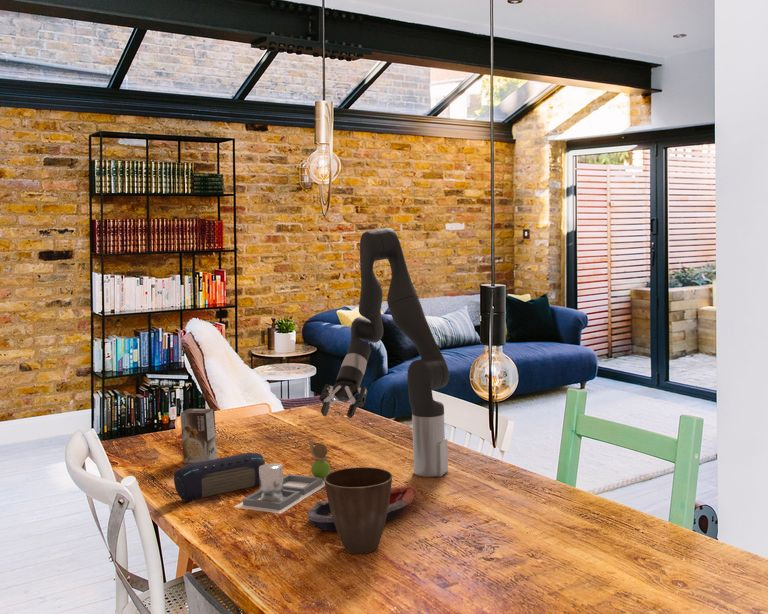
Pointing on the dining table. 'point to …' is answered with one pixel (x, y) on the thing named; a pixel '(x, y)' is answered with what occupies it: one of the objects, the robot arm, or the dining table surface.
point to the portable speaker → (218, 476)
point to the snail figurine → (319, 460)
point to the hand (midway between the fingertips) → (336, 416)
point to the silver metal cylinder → (271, 482)
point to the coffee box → (198, 435)
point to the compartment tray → (285, 494)
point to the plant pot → (359, 506)
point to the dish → (397, 507)
